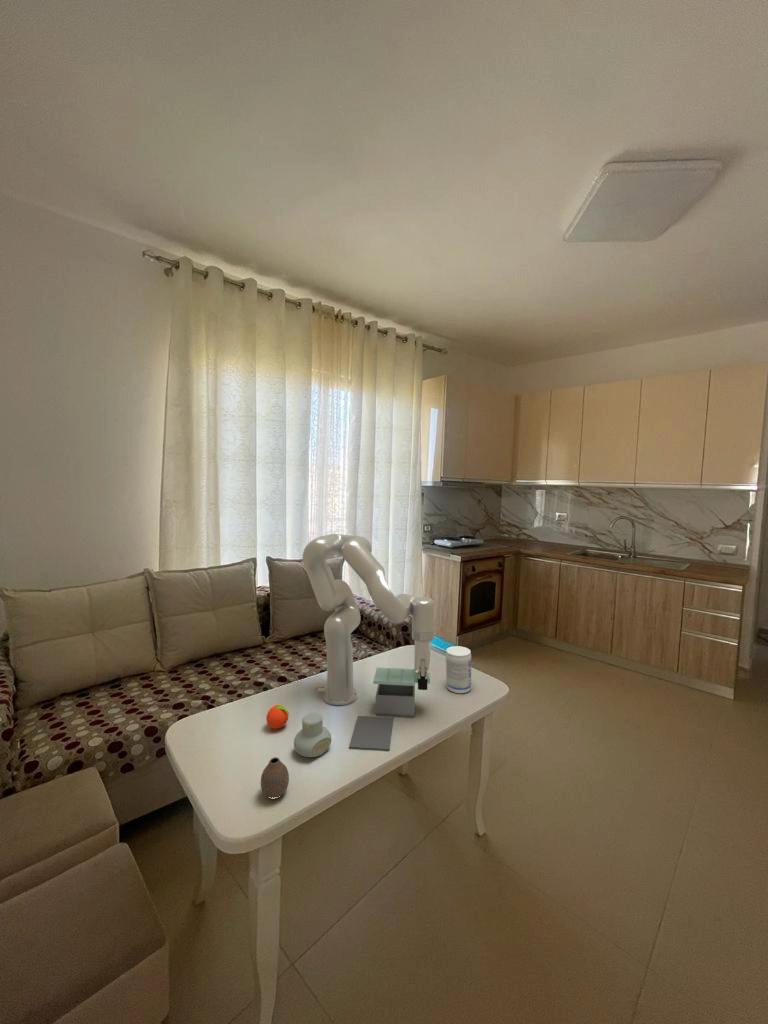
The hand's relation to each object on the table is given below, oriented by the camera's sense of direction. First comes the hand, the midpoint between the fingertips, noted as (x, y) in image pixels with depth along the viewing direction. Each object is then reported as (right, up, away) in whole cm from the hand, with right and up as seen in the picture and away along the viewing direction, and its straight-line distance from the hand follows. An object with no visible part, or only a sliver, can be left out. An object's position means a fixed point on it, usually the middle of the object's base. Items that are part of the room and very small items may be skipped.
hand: (422, 685), depth 136 cm
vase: (-41, -12, -36) cm, 56 cm away
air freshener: (-34, -11, -20) cm, 41 cm away
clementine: (-47, -10, -8) cm, 49 cm away
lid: (-7, +2, +1) cm, 7 cm away
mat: (-17, -10, -12) cm, 23 cm away
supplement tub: (+15, -8, +16) cm, 23 cm away
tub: (-9, -9, +1) cm, 13 cm away
